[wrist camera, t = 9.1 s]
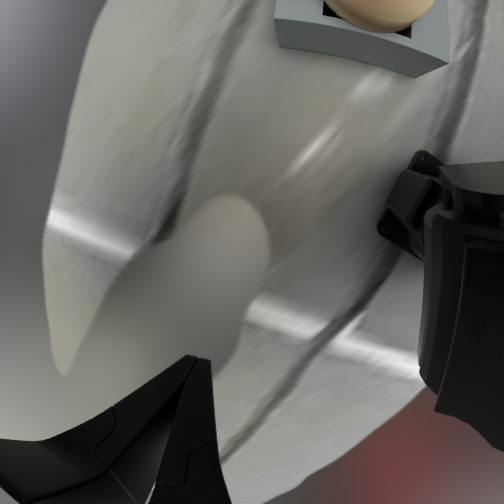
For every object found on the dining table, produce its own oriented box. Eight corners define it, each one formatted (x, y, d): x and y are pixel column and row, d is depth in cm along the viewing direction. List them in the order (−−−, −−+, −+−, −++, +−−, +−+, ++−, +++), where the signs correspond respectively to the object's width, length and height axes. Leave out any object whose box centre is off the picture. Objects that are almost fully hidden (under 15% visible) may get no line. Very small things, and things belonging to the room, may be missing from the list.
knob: (392, 5, 12) (430, -45, 5) (390, 66, 14) (438, 32, 7) (317, -13, 12) (322, -75, 6) (310, 48, 14) (316, -3, 8)
